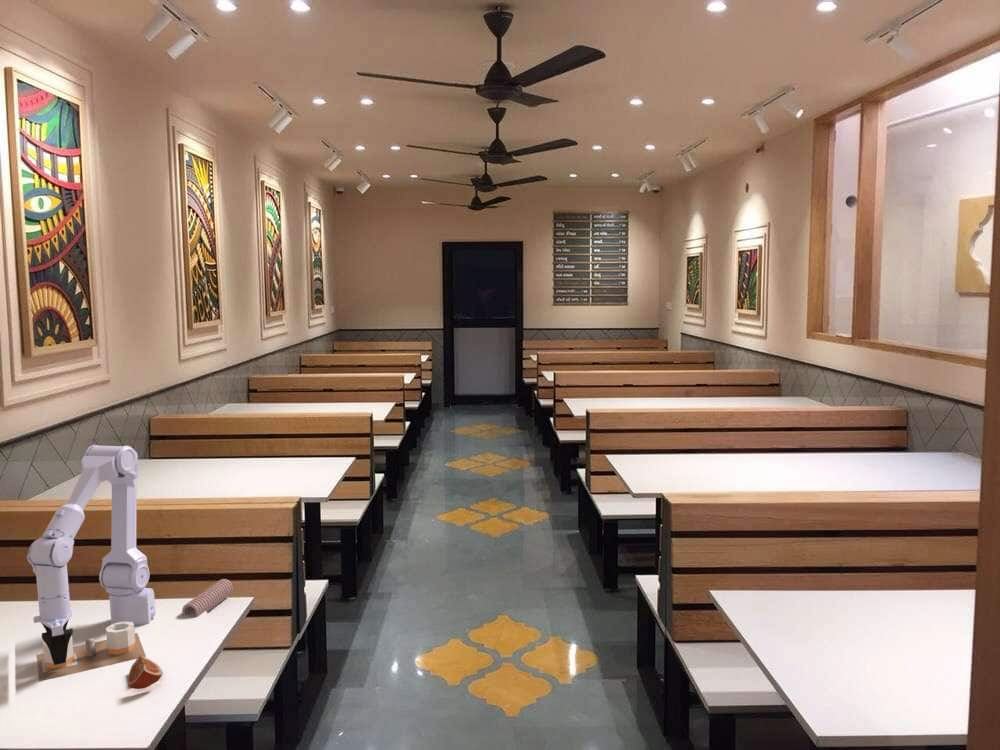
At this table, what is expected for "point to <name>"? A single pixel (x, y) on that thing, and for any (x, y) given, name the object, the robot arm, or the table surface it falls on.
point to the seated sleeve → (120, 638)
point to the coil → (209, 597)
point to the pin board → (89, 659)
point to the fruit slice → (143, 673)
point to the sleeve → (48, 657)
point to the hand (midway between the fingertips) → (59, 656)
